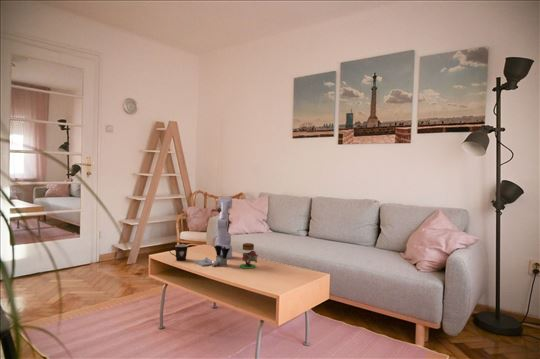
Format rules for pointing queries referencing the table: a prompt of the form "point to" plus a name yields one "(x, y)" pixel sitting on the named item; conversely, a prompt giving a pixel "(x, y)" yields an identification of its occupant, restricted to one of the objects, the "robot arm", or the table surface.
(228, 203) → the robot arm
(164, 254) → the table surface
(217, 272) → the table surface
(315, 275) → the table surface
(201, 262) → the panel
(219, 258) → the elbow
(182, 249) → the coffee mug
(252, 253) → the miniature tree model
